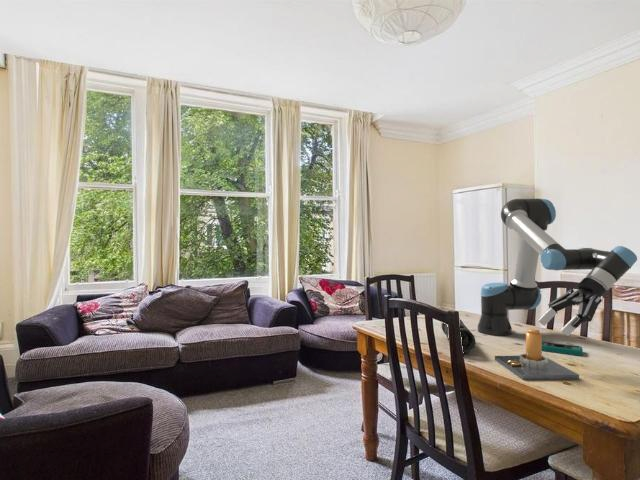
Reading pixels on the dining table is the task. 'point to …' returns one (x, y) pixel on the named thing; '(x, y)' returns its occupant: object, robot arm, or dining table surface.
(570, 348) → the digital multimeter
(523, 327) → the dining table surface
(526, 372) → the plate
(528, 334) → the orange cylinder
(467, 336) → the muzzle brake
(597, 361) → the dining table surface
